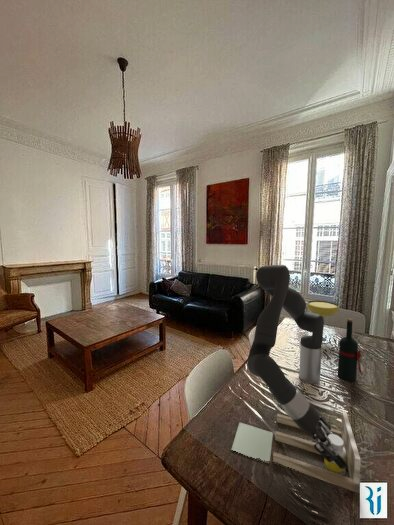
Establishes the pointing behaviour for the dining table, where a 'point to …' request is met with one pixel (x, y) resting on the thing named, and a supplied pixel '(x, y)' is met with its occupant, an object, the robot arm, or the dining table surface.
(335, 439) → the supplement bottle
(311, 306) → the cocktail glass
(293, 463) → the lane rack
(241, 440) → the mat
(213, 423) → the dining table surface
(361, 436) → the dining table surface
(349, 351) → the wine bottle
